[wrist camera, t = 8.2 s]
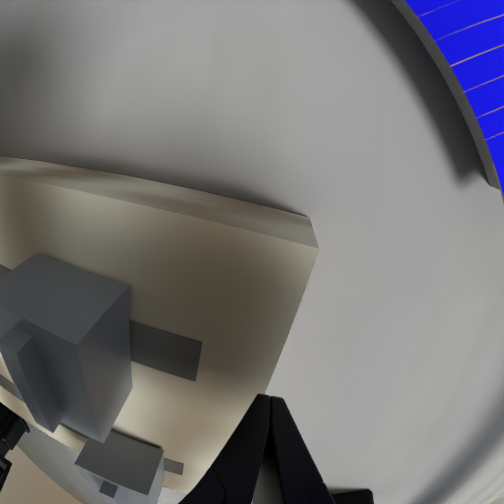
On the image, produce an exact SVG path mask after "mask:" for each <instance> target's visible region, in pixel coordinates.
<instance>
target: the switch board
mask: <svg viewBox="0 0 504 504" xmlns="http://www.w3.org/2000/svg"><path fill="white" fill-rule="evenodd" d="M318 250H319V247H318V244H317V240H316V237H315V234H314V230H313V227H312V224H311V221H310V218H309V217H305V216H301V215H297V214H294V213H290V212H286V211H282V210H278V209H274V208H270V207H266V206H262V205H258V204H254V203H250V202H246V201H242V200H238V199H234V198H229V197H225V196H221V195H216V194H212V193H208V192H203V191H199V190H194V189H190V188H185V187H180V186H176V185H171V184H166V183H161V182H156V181H151V180H146V179H141V178H136V177H131V176H126V175H120V174H115V173H109V172H104V171H98V170H92V169H87V168H81V167H74V166H68V165H62V164H55V163H49V162H42V161H35V160H27V159H20V158H12V157H4V156H0V277H2V276H3V275H5V274H6V273H8V272H9V271H11V270H12V269H14V268H15V267H17V266H18V265H20V264H21V263H23V262H24V261H26V260H27V259H29V258H31V257H32V256H34V255H35V254H37V253H40V254H42V255H45V256H48V257H50V258H53V259H56V260H58V261H61V262H64V263H66V264H69V265H72V266H74V267H77V268H80V269H83V270H86V271H89V272H91V273H94V274H97V275H100V276H103V277H106V278H109V279H112V280H115V281H118V282H121V283H124V284H127V285H129V327H130V355H131V371H132V385H133V388H132V390H131V392H130V394H129V396H128V398H127V400H126V402H125V403H124V405H123V407H122V409H121V411H120V413H119V415H118V417H117V419H116V420H115V422H114V424H113V426H112V428H111V431H113V432H116V433H118V434H120V435H123V436H125V437H128V438H130V439H133V440H136V441H138V442H141V443H144V444H146V445H149V446H152V447H155V448H158V449H161V450H164V477H165V480H164V483H163V486H162V487H166V488H169V489H172V490H176V491H179V492H183V493H186V494H188V493H189V492H190V491H191V490H192V489H193V488H194V487H195V486H196V484H197V483H198V482H199V481H200V479H201V478H202V477H203V476H204V474H205V473H206V471H207V470H208V468H210V466H211V464H212V463H213V461H214V460H215V459H216V457H217V456H218V454H219V453H220V451H221V450H222V448H223V447H224V445H225V444H226V442H227V441H228V439H229V438H230V436H231V435H232V433H233V432H234V430H235V429H236V427H237V425H238V424H239V422H240V421H241V419H242V418H243V416H244V414H245V413H246V411H247V410H248V408H249V406H250V405H251V403H252V402H253V400H254V398H255V397H256V395H257V394H258V393H260V394H264V393H265V391H266V388H267V386H268V384H269V381H270V379H271V376H272V374H273V372H274V369H275V367H276V364H277V362H278V359H279V357H280V354H281V352H282V349H283V347H284V344H285V342H286V339H287V336H288V334H289V331H290V329H291V326H292V323H293V321H294V318H295V315H296V313H297V310H298V307H299V304H300V302H301V299H302V296H303V293H304V290H305V288H306V285H307V282H308V279H309V276H310V273H311V270H312V268H313V265H314V262H315V259H316V256H317V253H318ZM0 402H1V403H3V404H4V405H5V406H7V407H8V408H9V409H11V410H12V411H13V412H15V413H16V414H17V415H19V416H20V417H22V418H23V419H25V420H26V421H27V422H29V423H30V424H32V425H33V426H35V427H37V428H38V429H40V430H41V431H43V432H44V433H46V434H48V435H49V436H51V437H53V438H54V439H56V440H58V441H60V442H61V443H63V444H65V445H67V446H69V447H70V448H72V449H74V450H76V451H78V452H80V453H81V451H82V449H83V447H84V445H85V443H86V442H87V440H88V438H89V436H87V435H85V434H83V433H81V432H79V431H77V430H75V429H73V428H71V427H69V426H67V425H65V424H64V423H62V422H60V424H59V425H58V427H57V428H56V430H55V432H54V433H52V432H50V431H48V430H47V429H45V428H43V427H42V426H40V425H39V424H37V423H36V422H35V420H34V418H33V417H32V415H31V413H30V411H29V409H28V407H27V406H26V404H25V402H24V400H23V398H21V397H20V395H19V393H18V391H17V389H16V387H15V385H14V383H13V381H12V378H11V376H10V374H9V372H8V369H7V367H6V365H5V362H4V360H3V358H2V355H1V353H0Z"/></svg>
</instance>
